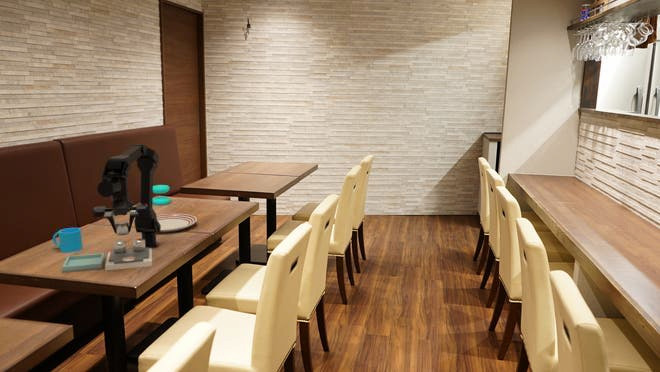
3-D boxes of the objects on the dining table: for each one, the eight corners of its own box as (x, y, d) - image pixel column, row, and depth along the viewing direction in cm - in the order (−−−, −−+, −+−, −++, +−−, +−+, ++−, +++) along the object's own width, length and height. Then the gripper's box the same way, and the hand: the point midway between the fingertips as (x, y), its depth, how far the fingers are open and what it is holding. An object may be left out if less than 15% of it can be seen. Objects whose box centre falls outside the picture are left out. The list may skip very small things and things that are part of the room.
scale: (108, 257, 209) (108, 248, 208) (152, 253, 213) (151, 245, 213) (105, 271, 193) (104, 262, 192) (152, 266, 198) (151, 257, 197)
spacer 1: (116, 232, 201) (115, 222, 200) (129, 231, 202) (128, 221, 202) (116, 235, 197) (115, 225, 196) (129, 234, 198) (128, 224, 198)
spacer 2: (114, 250, 208) (113, 240, 207) (126, 249, 209) (126, 239, 208) (113, 254, 203) (112, 244, 203) (126, 253, 205) (125, 243, 204)
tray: (67, 261, 204) (67, 256, 203) (104, 257, 208) (104, 253, 207) (62, 272, 192) (62, 267, 191) (101, 268, 196) (101, 263, 195)
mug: (86, 247, 221) (85, 228, 220) (74, 253, 213) (72, 233, 212) (60, 245, 223) (58, 226, 222) (47, 251, 215) (45, 232, 214)
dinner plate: (175, 237, 236) (174, 230, 235) (124, 232, 245) (123, 225, 244) (208, 222, 261) (208, 216, 261) (161, 218, 270) (160, 211, 269)
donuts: (155, 188, 293) (148, 185, 301) (156, 206, 295) (149, 203, 302) (172, 186, 299) (165, 183, 307) (173, 203, 301) (166, 200, 309)
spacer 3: (133, 249, 210) (132, 239, 209) (145, 248, 211) (145, 238, 210) (133, 252, 206) (132, 242, 205) (145, 251, 207) (144, 241, 206)
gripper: (90, 197, 186) (93, 240, 189) (146, 194, 192) (149, 236, 195) (92, 191, 196) (96, 232, 199) (146, 188, 202) (148, 228, 205)
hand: (122, 232), depth 200 cm, fingers closed on spacer 1, 4 cm apart
